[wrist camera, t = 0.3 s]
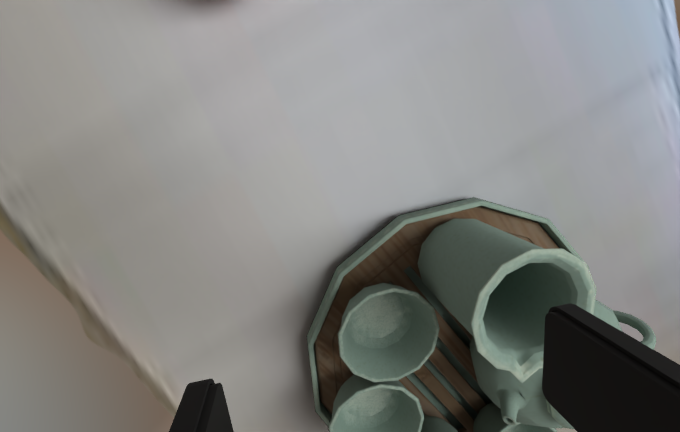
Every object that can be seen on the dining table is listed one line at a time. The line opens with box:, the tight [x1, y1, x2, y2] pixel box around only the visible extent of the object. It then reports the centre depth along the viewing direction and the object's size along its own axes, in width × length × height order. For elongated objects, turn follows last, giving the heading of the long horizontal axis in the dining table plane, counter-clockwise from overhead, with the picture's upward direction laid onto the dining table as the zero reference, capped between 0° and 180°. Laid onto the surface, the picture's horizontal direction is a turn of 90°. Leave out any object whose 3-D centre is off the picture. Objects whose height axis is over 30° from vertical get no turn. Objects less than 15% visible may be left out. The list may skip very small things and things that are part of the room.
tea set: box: [307, 197, 656, 432], centre depth 39 cm, size 40×40×16 cm
